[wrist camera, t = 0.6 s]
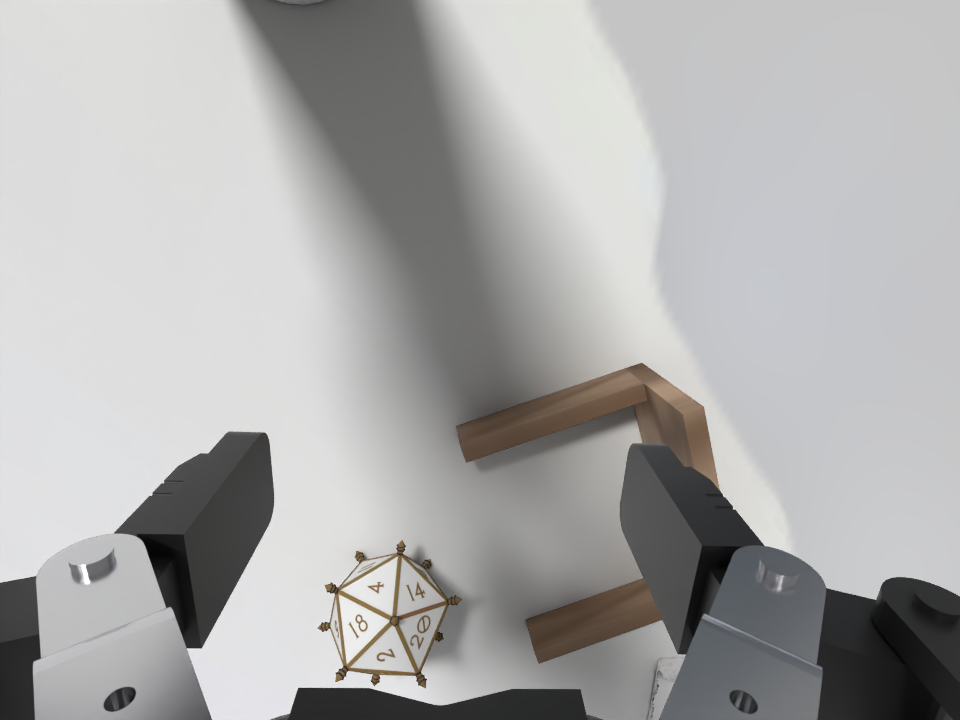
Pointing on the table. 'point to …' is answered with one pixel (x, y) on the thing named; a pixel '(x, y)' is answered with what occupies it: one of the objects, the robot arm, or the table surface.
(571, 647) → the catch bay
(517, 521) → the table surface
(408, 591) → the game die
